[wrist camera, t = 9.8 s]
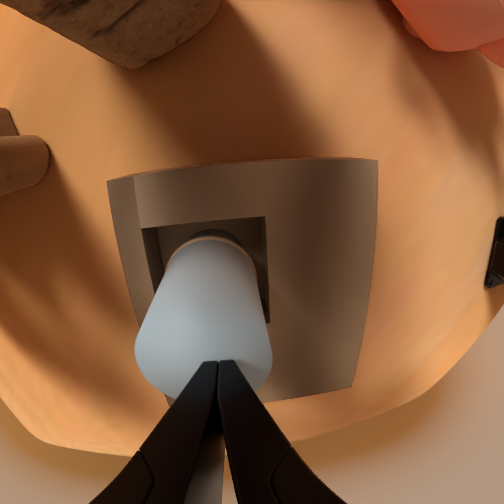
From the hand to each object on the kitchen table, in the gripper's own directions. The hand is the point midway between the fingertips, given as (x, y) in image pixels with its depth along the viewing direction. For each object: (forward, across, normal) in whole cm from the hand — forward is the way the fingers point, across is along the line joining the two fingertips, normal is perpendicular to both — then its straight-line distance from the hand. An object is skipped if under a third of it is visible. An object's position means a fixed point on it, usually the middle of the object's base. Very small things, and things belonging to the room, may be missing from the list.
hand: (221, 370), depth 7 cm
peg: (+8, +1, 0) cm, 8 cm away
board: (+9, -1, +2) cm, 9 cm away
